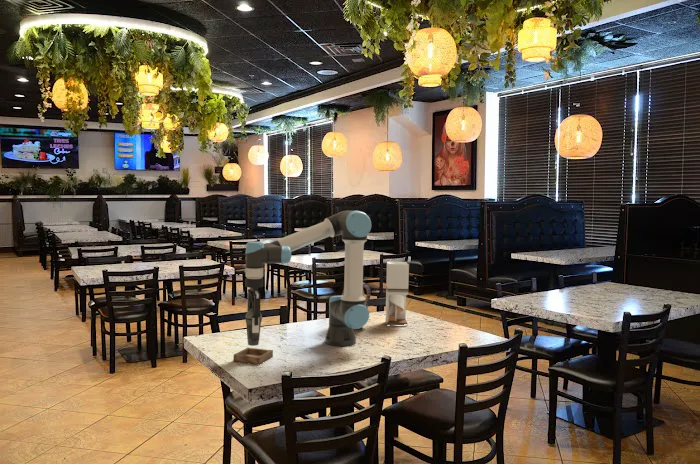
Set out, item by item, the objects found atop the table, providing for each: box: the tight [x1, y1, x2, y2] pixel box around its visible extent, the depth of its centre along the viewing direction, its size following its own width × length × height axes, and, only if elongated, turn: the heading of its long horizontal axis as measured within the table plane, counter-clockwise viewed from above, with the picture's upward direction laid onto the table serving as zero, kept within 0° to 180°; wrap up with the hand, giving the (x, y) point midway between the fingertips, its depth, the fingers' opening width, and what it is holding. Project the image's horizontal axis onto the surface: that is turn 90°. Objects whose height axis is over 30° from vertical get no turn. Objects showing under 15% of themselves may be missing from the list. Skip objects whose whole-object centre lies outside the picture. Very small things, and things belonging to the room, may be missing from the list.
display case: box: [385, 261, 410, 326], centre depth 306 cm, size 11×11×35 cm
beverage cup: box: [244, 308, 263, 347], centre depth 233 cm, size 7×7×20 cm
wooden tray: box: [232, 347, 274, 366], centre depth 234 cm, size 12×12×3 cm
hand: (253, 330), depth 233 cm, fingers closed on beverage cup, 7 cm apart
